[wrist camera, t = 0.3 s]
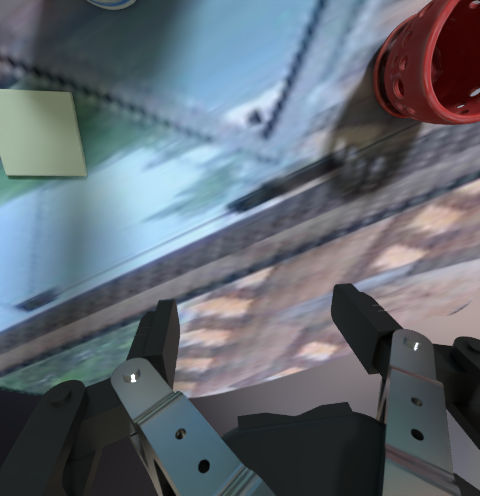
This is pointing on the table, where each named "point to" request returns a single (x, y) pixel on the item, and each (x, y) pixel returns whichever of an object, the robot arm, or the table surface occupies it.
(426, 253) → the table surface
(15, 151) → the mat
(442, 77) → the plant pot
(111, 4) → the supplement tub
